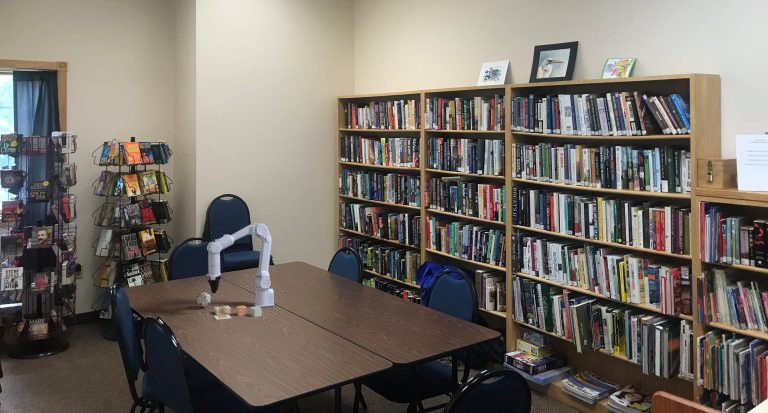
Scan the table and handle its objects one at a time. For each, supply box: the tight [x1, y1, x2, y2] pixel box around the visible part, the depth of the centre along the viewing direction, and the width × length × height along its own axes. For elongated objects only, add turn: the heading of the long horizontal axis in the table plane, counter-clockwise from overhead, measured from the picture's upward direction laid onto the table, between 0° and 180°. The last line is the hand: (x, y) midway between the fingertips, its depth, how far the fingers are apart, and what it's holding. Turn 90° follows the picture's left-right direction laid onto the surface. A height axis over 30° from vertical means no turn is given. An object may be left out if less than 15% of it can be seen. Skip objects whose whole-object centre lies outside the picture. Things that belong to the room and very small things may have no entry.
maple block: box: [213, 305, 232, 316], centre depth 313 cm, size 7×7×3 cm
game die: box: [195, 291, 213, 309], centre depth 323 cm, size 9×8×10 cm
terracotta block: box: [236, 305, 248, 317], centre depth 309 cm, size 4×5×4 cm
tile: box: [213, 314, 232, 321], centre depth 303 cm, size 7×7×1 cm
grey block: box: [249, 306, 263, 318], centre depth 307 cm, size 4×5×4 cm
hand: (214, 291), depth 315 cm, fingers open, 7 cm apart
